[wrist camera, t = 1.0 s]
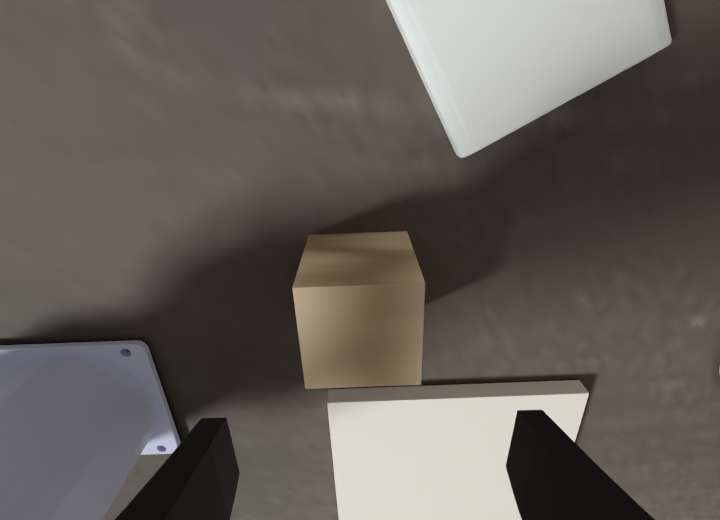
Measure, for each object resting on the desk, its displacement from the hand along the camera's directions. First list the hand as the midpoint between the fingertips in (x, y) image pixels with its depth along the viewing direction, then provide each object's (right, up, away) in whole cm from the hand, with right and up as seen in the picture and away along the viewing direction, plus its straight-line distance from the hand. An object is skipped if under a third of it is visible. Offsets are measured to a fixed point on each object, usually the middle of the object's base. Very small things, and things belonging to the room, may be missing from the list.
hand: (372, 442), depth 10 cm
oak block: (0, +4, +9) cm, 10 cm away
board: (+5, -9, +15) cm, 18 cm away
